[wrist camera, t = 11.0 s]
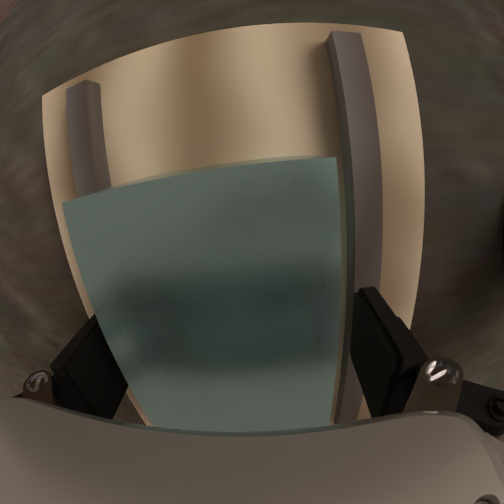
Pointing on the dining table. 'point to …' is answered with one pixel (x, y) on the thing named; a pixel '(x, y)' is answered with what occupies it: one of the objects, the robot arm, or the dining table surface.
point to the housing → (219, 290)
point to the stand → (262, 142)
